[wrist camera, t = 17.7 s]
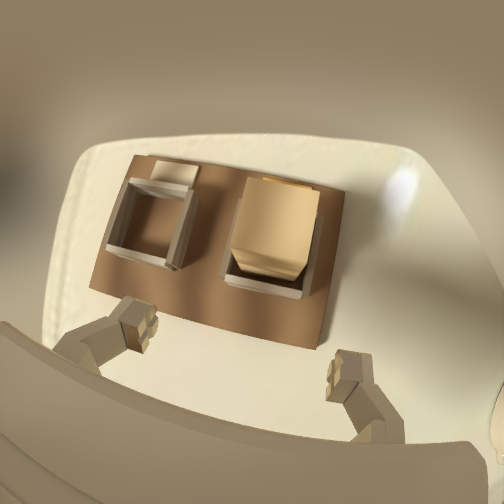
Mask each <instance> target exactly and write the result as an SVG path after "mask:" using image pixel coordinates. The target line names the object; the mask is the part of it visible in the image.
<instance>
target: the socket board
mask: <svg viewBox="0 0 504 504" xmlns="http://www.w3.org/2000/svg"><path fill="white" fill-rule="evenodd" d="M248 177H252V178H257V179H263V180H268V181H273V182H278V183H282V184H287V185H292V186H297V187H301V188H306V189H310V190H315V191H319V192H320V195H319V201H318V207H317V212H316V218H315V224H314V229H313V234H312V240H311V245H310V250H309V255H308V260H307V264H306V265H305V267H304V268H303V269H302V271H301V272H300V274H299V275H298V277H297V278H296V279H295V281H294V282H293V284H291V283H287V282H282V281H278V280H274V279H269V278H265V277H260V276H256V275H252V274H247V273H243V272H242V271H241V269H240V267H239V265H238V263H237V261H236V259H235V257H234V255H233V253H232V251H231V249H230V247H229V245H230V241H231V237H232V233H233V229H234V226H235V222H236V218H237V215H238V211H239V207H240V203H241V200H242V196H243V192H244V189H245V185H246V182H247V178H248ZM344 196H345V192H344V191H340V190H336V189H331V188H327V187H323V186H319V185H314V184H310V183H305V182H301V181H296V180H292V179H287V178H282V177H277V176H272V175H267V174H262V173H257V172H251V171H246V170H240V169H234V168H229V167H223V166H216V165H210V164H204V163H197V162H190V161H183V160H175V159H167V158H159V157H151V156H142V155H134V157H133V159H132V162H131V164H130V166H129V169H128V171H127V174H126V176H125V179H124V181H123V184H122V186H121V189H120V191H119V194H118V196H117V199H116V202H115V205H114V207H113V210H112V213H111V216H110V219H109V222H108V224H107V227H106V230H105V233H104V237H103V240H102V243H101V246H100V249H99V253H98V256H97V259H96V263H95V266H94V270H93V274H92V277H91V281H90V285H89V288H91V289H94V290H97V291H99V292H102V293H105V294H108V295H111V296H114V297H116V298H119V299H123V298H124V297H125V296H127V295H128V296H131V297H134V298H137V299H140V300H143V301H146V302H149V303H151V304H154V305H156V306H157V311H160V312H163V313H166V314H169V315H173V316H176V317H180V318H183V319H187V320H190V321H194V322H197V323H201V324H205V325H208V326H212V327H216V328H220V329H223V330H227V331H231V332H235V333H239V334H243V335H248V336H252V337H256V338H260V339H265V340H269V341H274V342H278V343H283V344H288V345H292V346H297V347H302V348H307V349H312V350H316V348H317V343H318V339H319V335H320V331H321V326H322V322H323V317H324V312H325V308H326V303H327V298H328V293H329V288H330V283H331V278H332V272H333V267H334V261H335V255H336V249H337V243H338V237H339V231H340V224H341V218H342V211H343V203H344Z"/></svg>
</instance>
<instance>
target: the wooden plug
mask: <svg viewBox="0 0 504 504" xmlns="http://www.w3.org/2000/svg"><path fill="white" fill-rule="evenodd" d="M319 195H320V192H319V191H315V190H310V189H306V188H301V187H297V186H292V185H287V184H282V183H278V182H273V181H268V180H263V179H257V178H252V177H248V178H247V182H246V185H245V189H244V192H243V196H242V200H241V203H240V207H239V211H238V215H237V218H236V222H235V226H234V229H233V233H232V237H231V241H230V245H229V247H230V249H231V251H232V253H233V255H234V257H235V259H236V261H237V263H238V265H239V267H240V269H241V271H242V272H243V273H247V274H252V275H256V276H260V277H265V278H269V279H274V280H278V281H282V282H287V283H291V284H293V282H294V281H295V279H296V278H297V277H298V275H299V274H300V272H301V271H302V269H303V268H304V267H305V265H306V264H307V260H308V255H309V250H310V245H311V240H312V234H313V229H314V224H315V218H316V212H317V207H318V201H319Z"/></svg>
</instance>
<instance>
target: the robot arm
mask: <svg viewBox="0 0 504 504" xmlns="http://www.w3.org/2000/svg"><path fill="white" fill-rule="evenodd" d="M156 312H157V306H156V305H154V304H151V303H149V302H146V301H143V300H140V299H137V298H134V297H131V296H128V295H127V296H125V297H124V298H123V299H122V300H121V301H120V303H119V304H118V305H117V306H116V308H115V309H114V310H113V311H112V313H111V314H110V315H109V317H106V316H105V317H103V318H100V319H98V320H96V321H93V322H91V323H88V324H86V325H84V326H81V327H79V328H77V329H74V330H72V331H69V332H67V333H65V334H64V336H63V337H62V338H61V339H60V341H59V342H58V343H57V345H56V346H55V347H54V348H53V350H51V349H49V348H47V347H45V346H44V345H42V344H40V343H39V342H37V341H35V340H34V339H32V338H31V337H29V336H27V335H26V334H24V333H23V332H21V331H20V330H18V329H17V328H15V327H14V326H12V325H11V324H9V323H7V322H5V321H0V504H488V473H487V465H486V462H485V460H484V458H483V457H482V455H481V454H480V453H479V452H478V450H477V449H476V448H475V447H474V446H473V445H472V444H471V443H470V442H468V441H457V442H445V443H428V444H405V432H404V421H403V419H402V418H401V416H400V415H399V414H398V412H397V411H396V410H395V408H394V407H393V405H392V404H391V403H390V401H389V400H388V399H387V397H386V396H385V394H384V393H383V392H382V390H381V389H380V388H379V386H378V385H377V384H374V376H373V364H372V356H371V354H366V353H359V352H354V351H347V350H341V349H338V350H337V352H336V354H335V359H334V360H332V361H331V363H330V365H329V368H328V372H327V381H328V383H329V385H328V386H327V388H326V400H325V401H330V402H336V403H342V404H343V406H344V408H345V409H346V411H347V413H348V415H349V417H350V419H351V421H352V423H353V425H354V427H355V429H356V431H357V433H358V435H357V436H356V437H355V438H353V439H352V440H351V441H350V442H344V441H334V440H325V439H317V438H309V437H303V436H296V435H290V434H284V433H279V432H273V431H268V430H263V429H259V428H254V427H250V426H245V425H241V424H237V423H233V422H229V421H225V420H221V419H218V418H214V417H211V416H207V415H204V414H200V413H197V412H194V411H191V410H187V409H184V408H181V407H178V406H175V405H172V404H169V403H167V402H164V401H161V400H158V399H156V398H153V397H150V396H148V395H145V394H142V393H140V392H137V391H135V390H132V389H130V388H128V387H125V386H123V385H121V384H118V383H116V382H114V381H112V380H109V379H107V378H105V377H103V376H102V374H101V372H100V370H99V368H98V367H99V366H101V365H103V364H104V363H106V362H107V361H109V360H111V359H112V358H114V357H116V356H117V355H119V354H121V353H122V352H124V351H126V350H127V349H130V350H133V351H136V352H139V353H142V354H144V352H145V350H146V349H147V347H148V345H149V339H150V338H152V337H154V335H155V333H156V331H157V328H158V317H157V316H156V315H155V314H156ZM490 437H491V442H492V445H493V446H494V448H495V449H496V451H497V462H498V464H501V465H504V385H503V387H502V389H501V391H500V393H499V396H498V398H497V401H496V404H495V407H494V411H493V415H492V419H491V426H490Z"/></svg>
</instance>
